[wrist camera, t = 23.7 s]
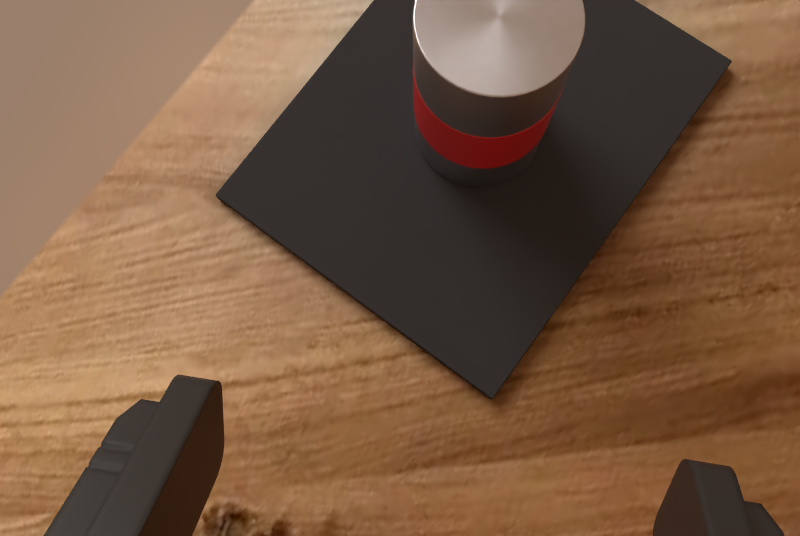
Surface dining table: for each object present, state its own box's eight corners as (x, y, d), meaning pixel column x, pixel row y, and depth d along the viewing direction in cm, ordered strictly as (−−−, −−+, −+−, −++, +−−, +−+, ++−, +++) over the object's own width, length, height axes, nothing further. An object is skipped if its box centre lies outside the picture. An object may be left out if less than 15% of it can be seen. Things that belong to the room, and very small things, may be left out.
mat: (491, 399, 34) (492, 399, 33) (218, 198, 36) (214, 195, 36) (727, 66, 37) (732, 60, 36) (461, -101, 39) (461, -109, 39)
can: (457, 211, 35) (470, 129, 25) (390, 107, 36) (379, -9, 27) (566, 147, 36) (621, 42, 26) (497, 46, 37) (525, -90, 27)
